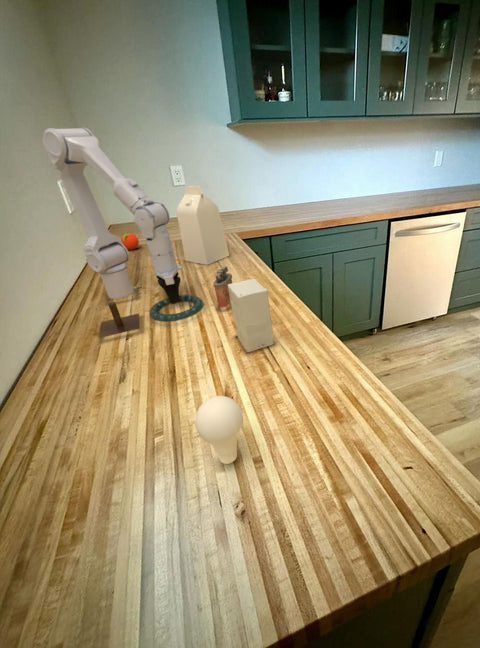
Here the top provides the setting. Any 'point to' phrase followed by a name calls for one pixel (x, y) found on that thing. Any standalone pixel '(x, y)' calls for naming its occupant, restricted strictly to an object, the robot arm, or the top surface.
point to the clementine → (130, 241)
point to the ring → (178, 316)
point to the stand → (118, 323)
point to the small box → (251, 314)
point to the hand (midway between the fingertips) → (174, 300)
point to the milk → (201, 228)
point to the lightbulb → (220, 425)
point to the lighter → (222, 286)
